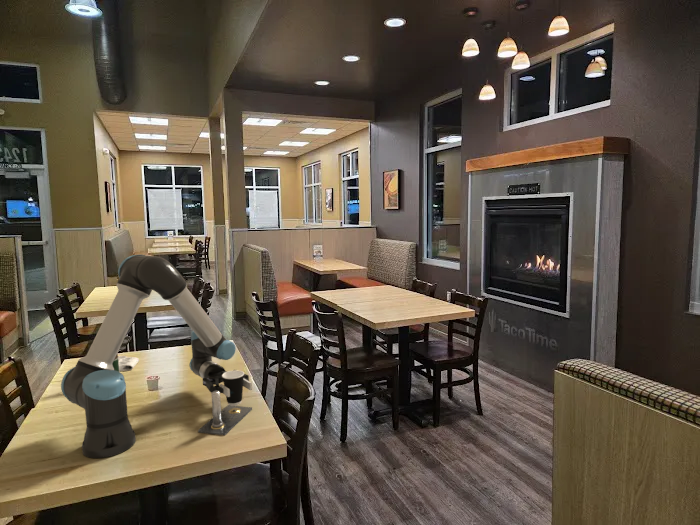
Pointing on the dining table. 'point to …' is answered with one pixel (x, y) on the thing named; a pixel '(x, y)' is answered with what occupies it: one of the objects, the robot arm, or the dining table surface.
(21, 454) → the dining table surface
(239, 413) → the plate
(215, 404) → the post
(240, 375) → the dixie cup
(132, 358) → the folded newspaper
